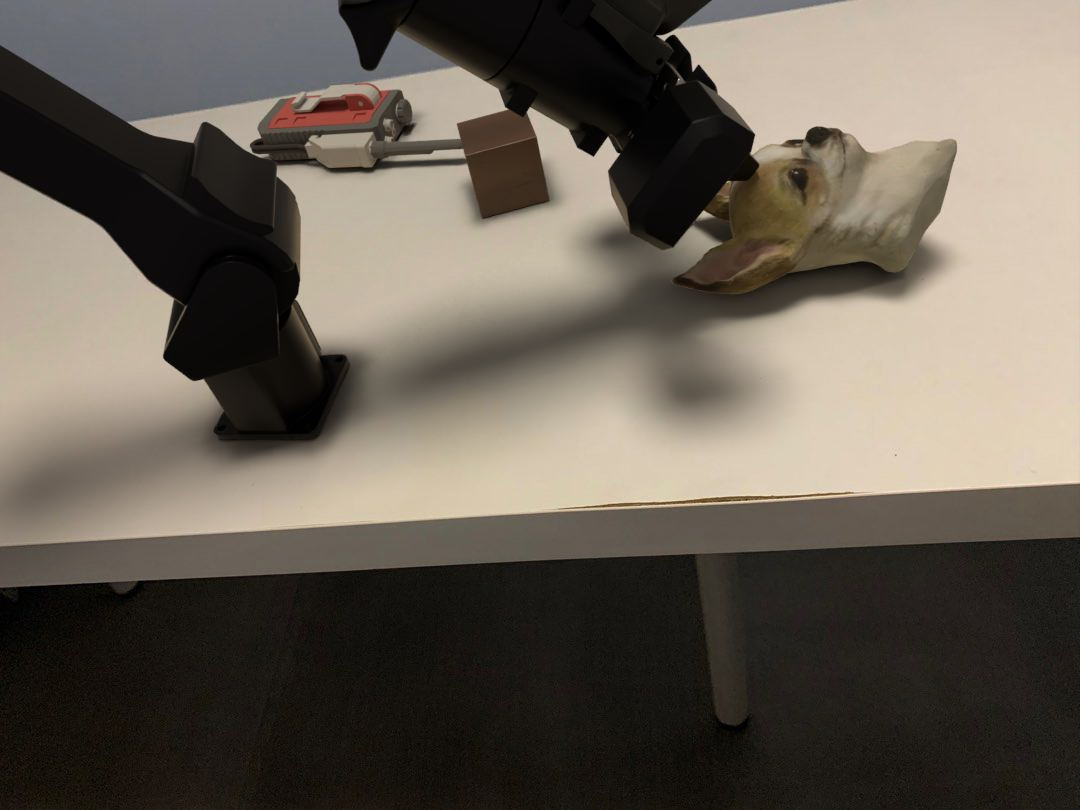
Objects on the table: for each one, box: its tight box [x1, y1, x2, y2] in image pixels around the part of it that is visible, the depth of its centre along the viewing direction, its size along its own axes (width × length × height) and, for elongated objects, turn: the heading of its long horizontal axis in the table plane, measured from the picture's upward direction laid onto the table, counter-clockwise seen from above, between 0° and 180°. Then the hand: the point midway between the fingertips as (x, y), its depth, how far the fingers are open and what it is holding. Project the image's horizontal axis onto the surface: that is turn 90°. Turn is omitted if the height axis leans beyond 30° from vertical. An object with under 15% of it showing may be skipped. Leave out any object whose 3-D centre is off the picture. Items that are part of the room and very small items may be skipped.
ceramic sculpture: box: [670, 125, 958, 295], centre depth 48 cm, size 11×9×15 cm
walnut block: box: [456, 109, 550, 219], centre depth 60 cm, size 5×5×5 cm
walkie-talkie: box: [249, 82, 463, 169], centre depth 70 cm, size 9×4×20 cm
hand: (751, 170), depth 46 cm, fingers closed
